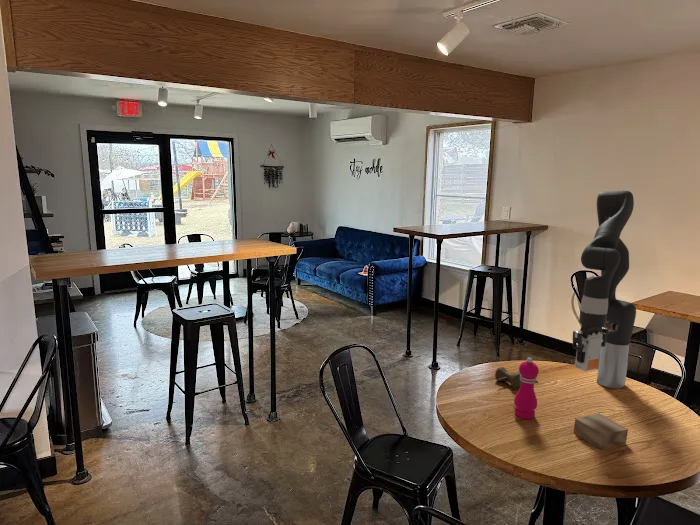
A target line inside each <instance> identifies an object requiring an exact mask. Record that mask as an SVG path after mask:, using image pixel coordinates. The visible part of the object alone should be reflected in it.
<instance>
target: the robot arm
mask: <svg viewBox="0 0 700 525" xmlns="http://www.w3.org/2000/svg"><path fill="white" fill-rule="evenodd" d="M634 200H635V199H634V194H633V193H632V192H631V191H630V190H612V191H611V190H609V191H601V192H599V193H598V194H597V198H596V215H597V221H598V223H597V224H598V228H597V229H596V231H595V233H594V238H593V239H592V241H591V242H589V243H588V245H586V247H585V248H584V250H583V251H582V253H581V256H580V262H581V264H582V267H584V268H585V269H588V270H595V271H600V275H599V276H587V277H586V279H585V280H584V285H583V286H584V287H583V294H582V298H581V303H580V308H579V309H580V311H579V319H578V323H579V324H580V325H581V327H580V329H579V330H578V331H577V330H573V331H572V348H573V349H574V350H576V353H577V358H576V357H575V360H576V359H577V361H578V362H580V363H584V359H585V350H586V347H587V346H588V344H589V340H587V342H584V341H582V338H585V339H587V337H588V335H592V336H593V335H595V334H597V335H601V334H603V336H602V343H601V349H600V356H599V363H598V369H597V376H596V382H597V384H599V385H601V386H603V387H606V388H610V389H615V390H616V389H617V390H618V389H623V388H624V387H625V385H626V381H627V380H626V379H627V370H628V367H629V366H628V364H629V362H628V358H629V349H630V343H631V339H632V336H633V331H634V325H635V322H636V316H637V308H636V305H635V304H634V303H632V302H630V301H629V302H628V301H625V300H621V299H617V297H616V293H617V291H616V290H617V288H618V286H619V284H620V282H621V281H622V280H623V279H624V278H625V276H626V275H627V273H628V272H629V269H630V252H629V248H628V247H627V246H626V244H625V243H624V242H623V240H622V239H621V238H620V237H621V234H622V233H623V232H622V231H623V229H624V228H625V226H626V225H627V224H628V221H629V219H630V218H631V216H632V213H633V211H634V204H635V201H634ZM606 323H609V324H614V325H617V329H616V330H609V328H605V327H606ZM582 344H584V345H583V348H582Z"/></svg>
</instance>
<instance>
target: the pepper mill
mask: <svg viewBox="0 0 700 525" xmlns="http://www.w3.org/2000/svg"><path fill="white" fill-rule="evenodd" d="M518 372H520V373H521V375H520V380H521V386H520V388H519V389H518V391H517V392H516V394H515V396H514V400H513V403H514V406H515V407H514V415H515V416H516V417H517V418H520V419H524V420H532V419H534V418H535V414H536V411H535V410H536V409H537V407H538V399H537V396H536V393H535V383H536V382H537V377H538V374H539V366H538V365H537V364H536V363H534V362H533V358H532V357H527V358H526V361H523V362H521V363H520V364H519V367H518ZM536 376H537V377H536Z"/></svg>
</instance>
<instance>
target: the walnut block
mask: <svg viewBox="0 0 700 525" xmlns="http://www.w3.org/2000/svg"><path fill="white" fill-rule="evenodd" d="M628 432H629V429H628V428H626V427H625V426H622V424H619V423H617V422H616V421H614V420H612V419H610V418H608V417H606V416H605V415H603V414H602V413H594V414H591V415H590V414H589V415H586V416H579V417H576V418H574V428H573V433H574V434H575V435H577V436H578V437H580V438H581V439H583V440H585V441H586V442H588V443H589V444H590V445H592V446H594V447H596V448H597V449H599V450H601V451H602V450H605V449H610V448H614V447H618V446H622V445H626V444H627V439H628V438H627V437H628Z"/></svg>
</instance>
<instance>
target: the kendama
mask: <svg viewBox="0 0 700 525" xmlns="http://www.w3.org/2000/svg"><path fill="white" fill-rule="evenodd" d="M520 375H521V373H520V372H519V371H518V372H516V373H514V374H512V373H510V372H508V371H507V368H505V367H504V366H500V367H498V368H497V369H496V371H495V373H494V378H495V380H496V381H497V382H507V383H509V384H510V385H511V387H512V389H513V390H519V389H520V386H521V380H520ZM537 377H538V375H537V376H536V378H537Z"/></svg>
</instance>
